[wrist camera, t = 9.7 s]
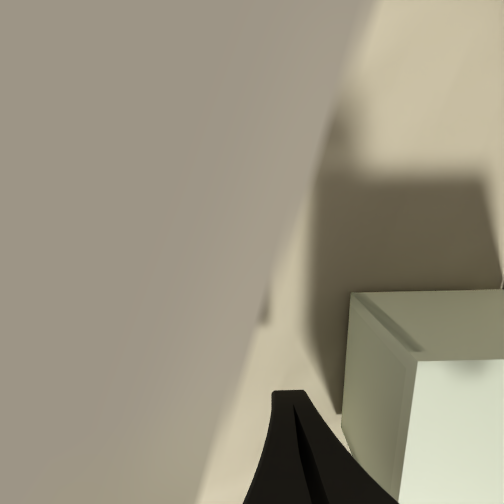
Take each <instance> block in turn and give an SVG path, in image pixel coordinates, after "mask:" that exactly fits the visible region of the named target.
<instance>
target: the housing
mask: <svg viewBox="0 0 504 504" xmlns="http://www.w3.org/2000/svg"><path fill="white" fill-rule="evenodd" d="M341 428H342V431H343V433H344V436H345V438H346V441H347V443H348V446H349V448H350V451H351V453H352V456H353V458H354V459H355V460H356V461H357V462H358V463H359V464H360V466H361V467H362V468H363V469H364V470H365V471H366V472H367V473H368V474H369V475H370V476H371V477H372V478H373V479H374V480H375V481H376V482H377V483H378V484H379V485H380V486H381V487H382V488H383V489H384V490H385V491H386V492H387V493H388V494H390V495H391V496H392V497H393V498H394V499H395V500H396V501H397V502H398V503H400V504H504V289H502V290H453V291H403V292H354V293H351V296H350V310H349V324H348V338H347V351H346V365H345V379H344V393H343V407H342V420H341Z"/></svg>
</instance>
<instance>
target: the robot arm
mask: <svg viewBox="0 0 504 504" xmlns="http://www.w3.org/2000/svg"><path fill="white" fill-rule="evenodd" d="M243 504H400V503H398V502H397V501H396V500H395V499H394V498H393V497H392V496H391V495H390V494H388V493H387V492H386V491H385V490H384V489H383V488H382V487H381V486H380V485H379V484H378V483H377V482H376V481H375V480H374V479H373V478H372V477H371V476H370V475H369V474H368V473H367V472H366V471H365V470H364V469H363V468H362V467H361V466H360V464H359V463H358V462H357V461H356V460H355V459H354V458H353V457H352V455H351V454H350V453H349V452H348V451H347V450H346V448H345V447H344V446H343V445H342V443H341V442H340V441H339V440H338V438H337V437H336V436H335V435H334V433H333V432H332V431H331V429H330V428H329V427H328V425H327V424H326V423H325V421H324V420H323V418H322V417H321V415H320V414H319V412H318V411H317V410H316V408H315V406H314V405H313V403H312V402H311V400H310V399H309V397H308V395H307V393H306V392H305V391H304V390H279V391H273V392H272V410H271V418H270V423H269V428H268V433H267V437H266V440H265V444H264V447H263V451H262V454H261V458H260V461H259V464H258V467H257V469H256V472H255V475H254V478H253V480H252V483H251V485H250V488H249V490H248V492H247V495H246V497H245V499H244V502H243Z"/></svg>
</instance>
